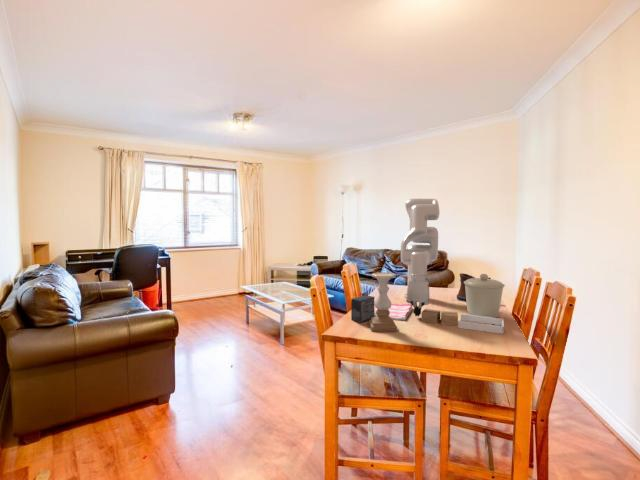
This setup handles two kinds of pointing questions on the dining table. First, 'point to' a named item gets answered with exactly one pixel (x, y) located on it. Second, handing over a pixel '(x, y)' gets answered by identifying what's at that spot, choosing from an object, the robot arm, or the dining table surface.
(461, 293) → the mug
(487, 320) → the tray
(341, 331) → the dining table surface
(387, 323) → the candle holder
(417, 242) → the robot arm
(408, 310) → the dish towel
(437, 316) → the tile
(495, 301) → the canister
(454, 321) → the tile
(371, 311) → the small box
